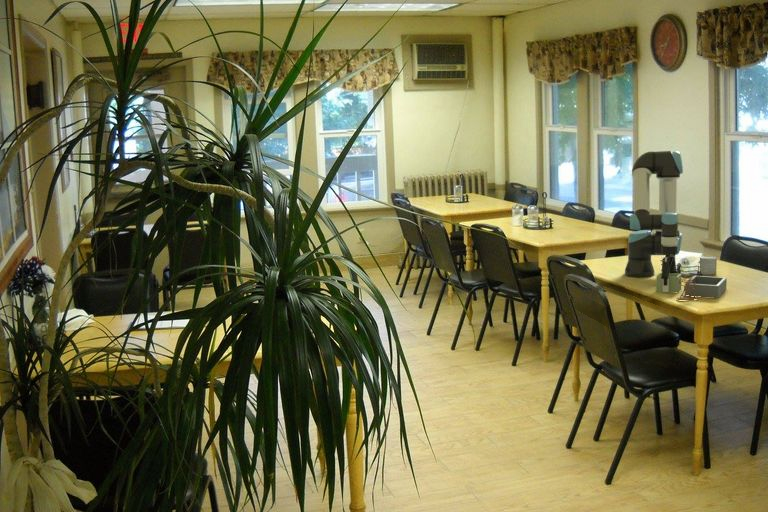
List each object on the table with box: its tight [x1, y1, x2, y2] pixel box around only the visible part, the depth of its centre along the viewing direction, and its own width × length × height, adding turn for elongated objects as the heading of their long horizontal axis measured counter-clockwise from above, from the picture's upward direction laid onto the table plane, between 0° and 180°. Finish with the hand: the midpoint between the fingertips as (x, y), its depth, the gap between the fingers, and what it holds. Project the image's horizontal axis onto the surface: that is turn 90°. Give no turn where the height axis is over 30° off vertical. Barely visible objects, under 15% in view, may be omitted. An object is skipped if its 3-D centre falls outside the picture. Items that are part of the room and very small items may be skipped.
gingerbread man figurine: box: [676, 273, 699, 301], centre depth 412 cm, size 9×4×12 cm, turn 95°
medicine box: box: [698, 256, 718, 276], centre depth 466 cm, size 8×4×9 cm, turn 84°
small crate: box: [655, 272, 683, 294], centre depth 432 cm, size 10×8×8 cm
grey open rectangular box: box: [684, 275, 728, 299], centre depth 425 cm, size 15×20×6 cm
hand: (668, 289), depth 433 cm, fingers open, 12 cm apart
